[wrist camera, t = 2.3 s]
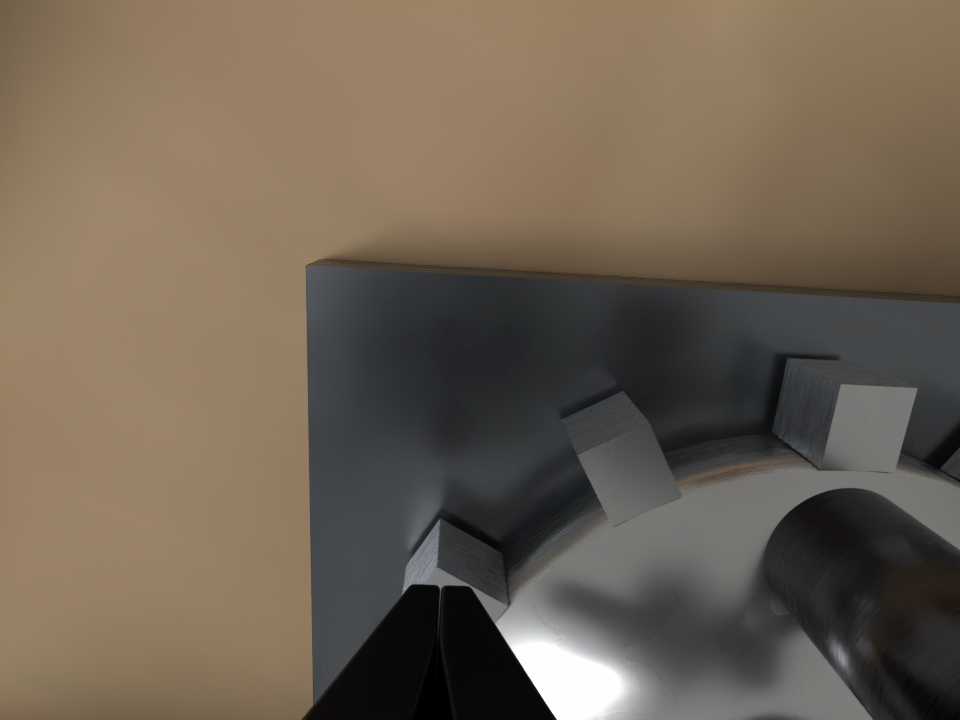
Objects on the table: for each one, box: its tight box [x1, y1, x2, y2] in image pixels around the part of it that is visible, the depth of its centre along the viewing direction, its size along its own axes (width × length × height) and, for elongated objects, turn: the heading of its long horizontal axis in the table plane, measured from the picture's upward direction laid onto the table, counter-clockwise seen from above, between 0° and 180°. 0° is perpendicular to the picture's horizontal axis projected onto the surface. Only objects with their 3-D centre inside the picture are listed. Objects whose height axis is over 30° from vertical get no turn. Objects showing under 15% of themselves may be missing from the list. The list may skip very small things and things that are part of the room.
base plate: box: [306, 259, 960, 705], centre depth 13 cm, size 18×18×1 cm
